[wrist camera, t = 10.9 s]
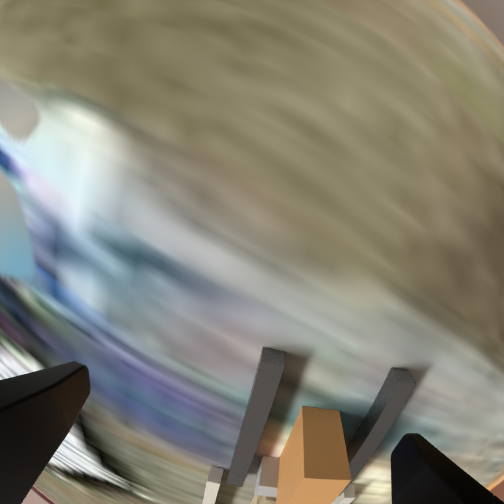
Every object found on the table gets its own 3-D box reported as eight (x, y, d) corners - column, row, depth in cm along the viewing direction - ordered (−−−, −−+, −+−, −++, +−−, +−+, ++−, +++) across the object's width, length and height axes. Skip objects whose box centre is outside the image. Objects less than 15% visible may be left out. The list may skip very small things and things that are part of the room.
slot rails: (407, 369, 19) (415, 383, 17) (338, 483, 22) (339, 496, 20) (262, 347, 19) (260, 361, 18) (228, 470, 23) (225, 483, 21)
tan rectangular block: (356, 412, 20) (372, 479, 13) (320, 473, 22) (323, 531, 15) (282, 402, 20) (278, 475, 13) (258, 466, 22) (249, 526, 15)
